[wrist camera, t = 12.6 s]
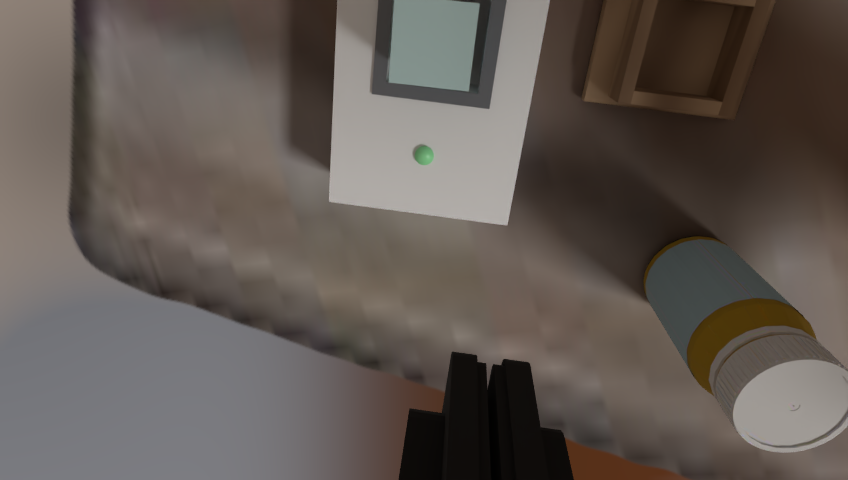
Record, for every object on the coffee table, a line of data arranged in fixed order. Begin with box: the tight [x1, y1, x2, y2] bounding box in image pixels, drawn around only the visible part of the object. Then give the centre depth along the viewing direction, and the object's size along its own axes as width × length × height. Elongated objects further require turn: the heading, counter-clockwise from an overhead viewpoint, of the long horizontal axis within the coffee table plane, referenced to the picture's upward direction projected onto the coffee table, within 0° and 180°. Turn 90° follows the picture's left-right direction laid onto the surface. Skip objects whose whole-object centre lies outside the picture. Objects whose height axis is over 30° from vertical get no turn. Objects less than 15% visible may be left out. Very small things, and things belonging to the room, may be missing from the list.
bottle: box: [643, 236, 848, 452], centre depth 35 cm, size 7×7×15 cm
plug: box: [389, 0, 480, 91], centre depth 30 cm, size 4×4×10 cm
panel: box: [329, 0, 550, 225], centre depth 35 cm, size 12×16×5 cm
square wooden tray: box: [581, 0, 776, 120], centre depth 33 cm, size 10×8×4 cm
